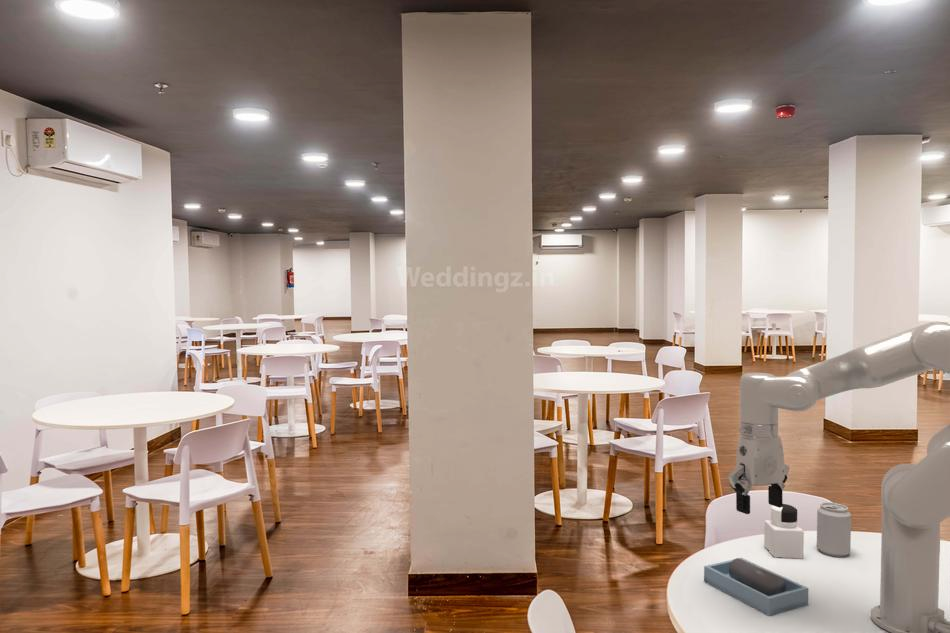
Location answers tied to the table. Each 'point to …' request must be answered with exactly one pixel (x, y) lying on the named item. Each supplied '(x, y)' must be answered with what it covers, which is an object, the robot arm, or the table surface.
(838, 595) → the table surface
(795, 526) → the medicine bottle
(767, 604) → the trough
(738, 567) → the cylinder
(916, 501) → the robot arm
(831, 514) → the can
